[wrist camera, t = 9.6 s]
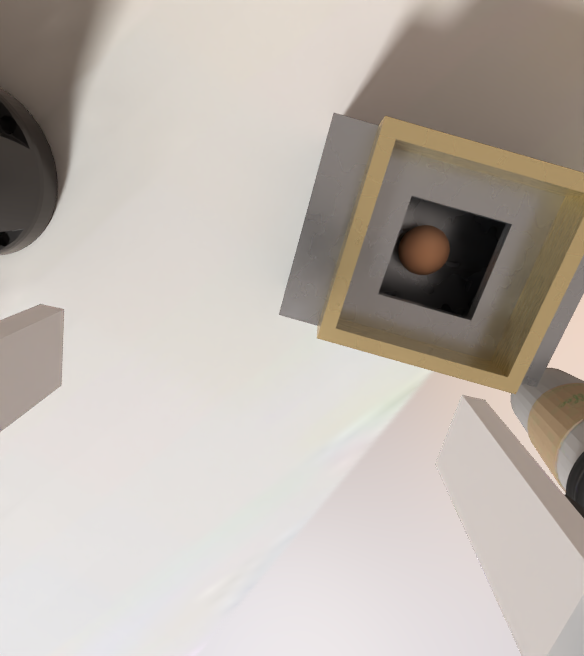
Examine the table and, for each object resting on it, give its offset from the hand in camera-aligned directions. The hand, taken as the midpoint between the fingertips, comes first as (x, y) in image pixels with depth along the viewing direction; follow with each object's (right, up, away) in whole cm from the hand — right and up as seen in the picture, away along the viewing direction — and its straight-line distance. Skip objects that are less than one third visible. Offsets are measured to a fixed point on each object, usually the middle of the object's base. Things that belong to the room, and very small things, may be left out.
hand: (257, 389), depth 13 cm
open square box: (+12, +9, +23) cm, 27 cm away
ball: (+12, +9, +22) cm, 27 cm away
